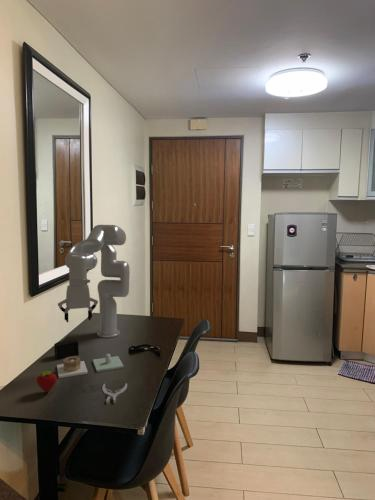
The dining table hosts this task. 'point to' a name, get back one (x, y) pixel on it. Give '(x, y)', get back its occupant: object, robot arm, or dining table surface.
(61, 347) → the digital camera
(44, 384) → the strawberry
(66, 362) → the collar
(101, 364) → the plate
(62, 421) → the dining table surface
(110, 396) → the pliers
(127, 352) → the dining table surface
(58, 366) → the stand
